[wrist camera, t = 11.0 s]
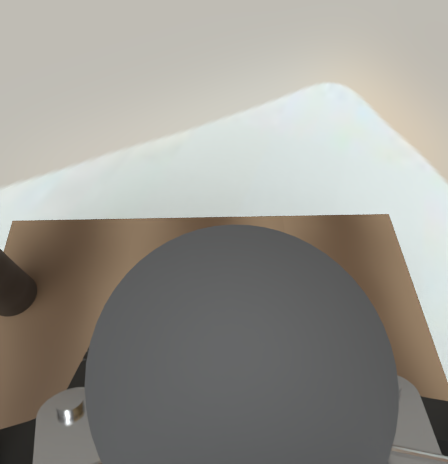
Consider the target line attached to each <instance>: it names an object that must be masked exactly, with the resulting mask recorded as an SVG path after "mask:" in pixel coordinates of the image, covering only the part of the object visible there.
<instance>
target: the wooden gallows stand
mask: <svg viewBox="0 0 448 464" xmlns="http://www.w3.org/2000/svg"><path fill="white" fill-rule="evenodd" d="M220 225H252V226H260V227H266V228H270V229H274V230H278V231H281V232H284V233H287V234H289V235H292V236H295V237H297V238H299V239H301V240H303V241H305V242H307V243H309V244H311V245H313V246H314V247H316V248H318V249H319V250H321V251H322V252H324V253H325V254H327V255H328V256H329V257H330V258H332V259H333V260H334V261H335V262H337V263H338V264H339V265H340V266H341V267H342V268H343V269H344V270H345V271H346V272H347V273H348V274H349V275H350V276H351V277H352V278H353V279H354V280H355V281H356V282H357V284H358V285H359V286H360V287H361V289H362V290H363V291H364V292H365V294H366V295H367V297H368V298H369V300H370V301H371V303H372V305H373V306H374V308H375V309H376V311H377V313H378V315H379V317H380V319H381V321H382V323H383V325H384V328H385V330H386V333H387V336H388V339H389V341H390V344H391V347H392V351H393V355H394V359H395V364H396V369H397V375H398V376H400V377H403V378H404V379H406V380H408V381H409V382H410V383H412V384H413V385H414V386H415V387H416V389H417V390H418V392H419V394H420V396H422V397H427V398H432V399H438V400H444V401H448V382H447V379H446V377H445V374H444V371H443V368H442V365H441V362H440V359H439V357H438V354H437V351H436V348H435V345H434V342H433V339H432V337H431V334H430V331H429V328H428V325H427V322H426V320H425V317H424V314H423V311H422V308H421V305H420V302H419V300H418V297H417V294H416V291H415V288H414V285H413V282H412V280H411V277H410V274H409V271H408V268H407V265H406V262H405V260H404V257H403V254H402V251H401V248H400V245H399V242H398V240H397V237H396V234H395V231H394V228H393V225H392V222H391V220H390V217H389V214H373V215H317V216H260V217H204V218H147V219H91V220H35V221H12V225H11V228H10V232H9V235H8V239H7V242H6V245H5V249H4V252H3V251H2V250H1V249H0V429H3V428H7V427H10V426H13V425H17V424H20V423H24V422H27V421H30V420H32V419H35V418H36V417H37V413H38V411H39V409H40V407H41V406H42V405H43V404H44V403H45V402H46V401H47V400H48V399H49V398H51V397H52V396H54V395H56V394H58V393H59V392H62V391H64V390H67V388H68V386H69V384H70V382H71V380H72V378H73V376H74V374H75V372H76V371H77V369H78V367H79V365H80V363H81V361H83V357H84V355H85V353H86V352H87V349H88V347H89V345H90V341H91V338H92V335H93V332H94V329H95V326H96V323H97V321H98V318H99V316H100V314H101V312H102V310H103V308H104V305H105V304H106V302H107V300H108V299H109V297H110V296H111V294H112V292H113V291H114V289H115V288H116V286H117V285H118V284H119V283H120V281H121V280H122V279H123V278H124V276H125V275H126V274H127V273H128V272H129V271H130V270H131V269H132V268H133V267H134V266H135V265H136V264H137V263H138V262H139V261H140V260H141V259H143V258H144V257H145V256H147V255H148V254H149V253H150V252H152V251H153V250H155V249H156V248H158V247H159V246H161V245H163V244H164V243H166V242H168V241H170V240H172V239H174V238H176V237H179V236H181V235H183V234H186V233H189V232H192V231H195V230H198V229H203V228H207V227H212V226H220Z"/></svg>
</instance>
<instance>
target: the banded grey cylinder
mask: <svg viewBox="0 0 448 464" xmlns="http://www.w3.org/2000/svg"><path fill="white" fill-rule="evenodd" d="M85 401H86V412H87V417H88V422H89V427H90V432H91V436H92V439H93V441H94V444H95V447H96V450H97V453H98V456H99V458H100V460H101V462H102V464H386V463H387V461H388V458H389V456H390V453H391V449H392V445H393V441H394V438H395V434H396V427H397V420H398V412H399V386H398V377H397V369H396V364H395V359H394V355H393V351H392V347H391V344H390V341H389V339H388V336H387V333H386V330H385V328H384V325H383V323H382V321H381V319H380V317H379V315H378V313H377V311H376V309H375V308H374V306H373V305H372V303H371V301H370V300H369V298H368V297H367V295H366V294H365V292H364V291H363V290H362V289H361V287H360V286H359V285H358V284H357V282H356V281H355V280H354V279H353V278H352V277H351V276H350V275H349V274H348V273H347V272H346V271H345V270H344V269H343V268H342V267H341V266H340V265H339V264H338V263H337V262H335V261H334V260H333V259H332V258H330V257H329V256H328V255H327V254H325V253H324V252H322V251H321V250H319V249H318V248H316V247H314V246H313V245H311V244H309V243H307V242H305V241H303V240H301V239H299V238H297V237H295V236H292V235H289V234H287V233H284V232H281V231H278V230H274V229H270V228H266V227H260V226H252V225H220V226H212V227H207V228H203V229H198V230H195V231H192V232H189V233H186V234H183V235H181V236H179V237H176V238H174V239H172V240H170V241H168V242H166V243H164V244H163V245H161V246H159V247H158V248H156V249H155V250H153V251H152V252H150V253H149V254H148V255H147V256H145V257H144V258H143V259H141V260H140V261H139V262H138V263H137V264H136V265H135V266H134V267H133V268H132V269H131V270H130V271H129V272H128V273H127V274H126V275H125V276H124V278H123V279H122V280H121V281H120V283H119V284H118V285H117V286H116V288H115V289H114V291H113V292H112V294H111V296H110V297H109V299H108V300H107V302H106V304H105V305H104V308H103V310H102V312H101V314H100V316H99V318H98V321H97V323H96V326H95V329H94V332H93V335H92V338H91V341H90V345H89V351H88V356H87V361H86V372H85Z"/></svg>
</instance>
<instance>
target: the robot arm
mask: <svg viewBox="0 0 448 464" xmlns="http://www.w3.org/2000/svg"><path fill="white" fill-rule="evenodd" d="M88 351H89V347H88V349H87V352H86V353H85V355H84V357H83V361H81V363H80V365H79V367H78V369H77V371H76V372H75V374H74V376H73V378H72V380H71V382H70V384H69V386H68V388H67V390H64V391H62V392H59V393H58V394H56V395H54V396H52V397H51V398H49V399H48V400H47V401H46V402H45V403H44V404H43V405H42V406H41V407H40V409H39V411H38V413H37V417H36V418H35V419H32V420H30V421H27V422H24V423H20V424H17V425H13V426H10V427H7V428H3V429H0V464H102V462H101V460H100V458H99V456H98V453H97V450H96V447H95V444H94V441H93V439H92V436H91V432H90V427H89V422H88V417H87V412H86V401H85V372H86V361H87V356H88ZM397 377H398V386H399V412H398V420H397V427H396V434H395V438H394V441H393V445H392V449H391V453H390V456H389V458H388V461H387V463H386V464H448V401H444V400H438V399H432V398H427V397H422V396H420V394H419V392H418V390H417V389H416V387H415V386H414V385H413V384H412V383H410V382H409V381H408V380H406V379H404V378H403V377H400V376H398V375H397Z"/></svg>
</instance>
